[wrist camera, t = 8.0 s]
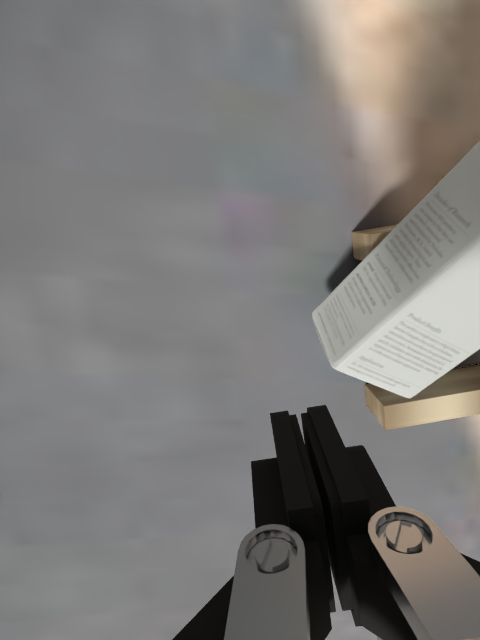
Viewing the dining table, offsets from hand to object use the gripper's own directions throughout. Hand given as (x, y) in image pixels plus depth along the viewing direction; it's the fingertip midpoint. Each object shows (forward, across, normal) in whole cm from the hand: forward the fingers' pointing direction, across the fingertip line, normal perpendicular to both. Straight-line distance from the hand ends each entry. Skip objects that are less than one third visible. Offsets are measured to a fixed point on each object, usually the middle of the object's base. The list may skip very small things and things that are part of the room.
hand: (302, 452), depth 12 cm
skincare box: (+10, -4, +2) cm, 11 cm away
